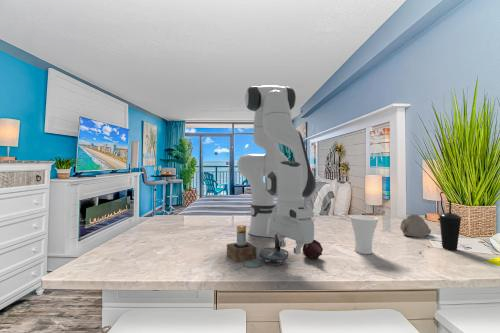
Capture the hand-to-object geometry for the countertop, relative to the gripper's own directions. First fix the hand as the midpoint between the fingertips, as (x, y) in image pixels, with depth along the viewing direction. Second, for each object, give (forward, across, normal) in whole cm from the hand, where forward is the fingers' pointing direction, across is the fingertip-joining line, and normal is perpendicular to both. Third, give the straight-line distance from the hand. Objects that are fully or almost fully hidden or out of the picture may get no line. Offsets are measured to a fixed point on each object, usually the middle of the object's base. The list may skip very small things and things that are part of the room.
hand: (289, 250), depth 88 cm
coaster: (+5, -6, -11) cm, 14 cm away
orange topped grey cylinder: (+5, -14, -11) cm, 19 cm away
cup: (+5, +2, +35) cm, 35 cm away
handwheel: (+3, -4, -3) cm, 6 cm away
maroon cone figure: (+5, -2, +12) cm, 13 cm away
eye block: (+5, -14, -11) cm, 19 cm away
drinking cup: (+5, +15, +71) cm, 72 cm away
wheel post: (+5, -4, -3) cm, 7 cm away
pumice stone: (+5, -4, +80) cm, 81 cm away
